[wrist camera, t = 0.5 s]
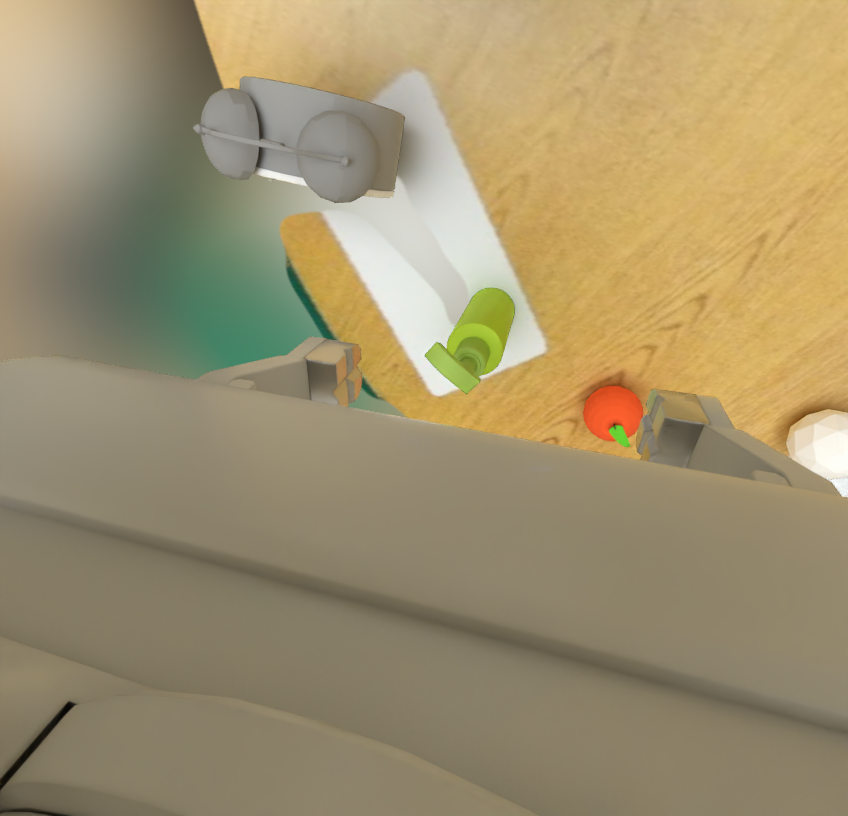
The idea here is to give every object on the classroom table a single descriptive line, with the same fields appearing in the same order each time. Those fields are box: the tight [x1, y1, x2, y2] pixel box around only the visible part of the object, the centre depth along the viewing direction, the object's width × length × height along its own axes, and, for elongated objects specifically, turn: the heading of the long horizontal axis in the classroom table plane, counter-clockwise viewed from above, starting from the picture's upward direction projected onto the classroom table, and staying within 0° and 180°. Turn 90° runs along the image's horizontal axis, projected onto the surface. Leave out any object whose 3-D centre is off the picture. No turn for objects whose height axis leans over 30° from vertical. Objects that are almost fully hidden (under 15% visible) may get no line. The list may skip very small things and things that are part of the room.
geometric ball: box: [786, 409, 848, 480], centre depth 53 cm, size 8×8×8 cm
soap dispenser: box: [425, 288, 515, 394], centre depth 51 cm, size 6×7×20 cm
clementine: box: [583, 386, 643, 447], centre depth 58 cm, size 8×7×7 cm
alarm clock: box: [193, 77, 405, 203], centre depth 45 cm, size 16×9×22 cm, turn 80°
